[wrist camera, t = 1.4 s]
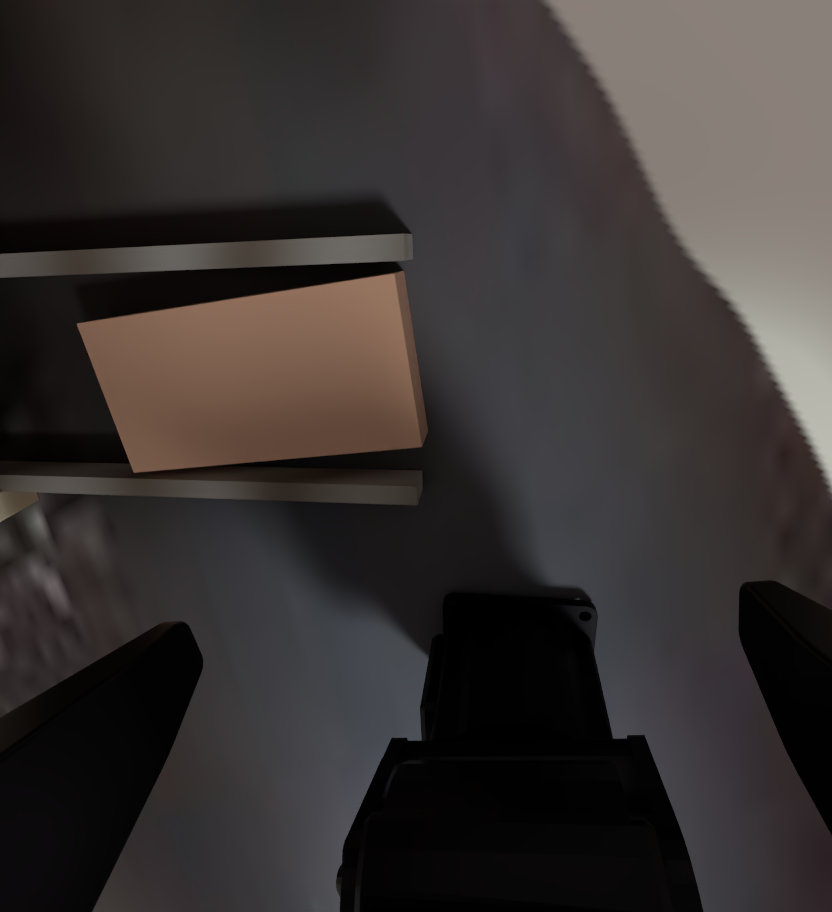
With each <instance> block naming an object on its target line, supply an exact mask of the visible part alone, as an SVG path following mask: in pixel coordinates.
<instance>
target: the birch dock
mask: <svg viewBox="0 0 832 912" xmlns="http://www.w3.org/2000/svg"><path fill="white" fill-rule="evenodd" d="M412 259H413V241H412V234H385V235H365V236H346V237H326V238H306V239H286V240H266V241H246V242H227V243H207V244H187V245H167V246H147V247H128V248H108V249H88V250H68V251H48V252H28V253H9V254H0V278H7V277H30V276H54V275H78V274H102V273H126V272H150V271H173V270H197V269H221V268H245V267H269V266H293V265H317V264H340V263H364V262H388V261H407V260H412ZM422 490H423V478H422V471H420V470H377V469H334V468H291V467H248V466H204V467H193V468H182V469H171V470H159V471H148V472H137V473H134V472H133V469H132V467H131V464H119V463H76V462H33V461H0V522H1V521H3V520H5V519H6V518H8V517H10V516H12V515H13V514H15V513H17V512H19V511H21V510H22V509H24V508H26V507H28V506H30V505H31V504H33V503H35V502H37V501H39V497H38V495H37V492H38V493H68V494H97V495H126V496H155V497H185V498H214V499H243V500H272V501H302V502H331V503H360V504H390V505H418V502H419V499H420V496H421V493H422Z"/></svg>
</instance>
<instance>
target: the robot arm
mask: <svg viewBox="0 0 832 912" xmlns="http://www.w3.org/2000/svg"><path fill="white" fill-rule="evenodd" d="M451 603H456V604H458V605H459V606H457V607H454V606H452V605H450V604H451ZM585 611H586V612H589V613H588V614H587V615H581V614H580V613H581V612H585ZM597 619H598V616H597V611H596V607H595V606H594V604H593V603H591V602H589V601H584V600H567V599H551V598H534V597H518V596H501V595H485V594H468V593H450V594H448V595H446V597H445V598H444V602H443V634H444V635H440V634H437V635H436V636H435V637H434V638H433V639H432V644H431V649H430V655H429V660H428V666H427V672H426V677H425V683H424V689H423V694H422V700H421V706H420V716H421V734H422V741H408V740H407V738H392V739H391V741H390V743H389V745H388V747H387V750H386V752H385V754H384V756H383V758H382V759H381V762H380V764H379V766H378V768H377V771H376V773H375V775H374V777H373V780H372V782H371V784H370V786H369V788H368V791H367V793H366V795H365V797H364V800H363V802H362V804H361V806H360V809H359V811H358V813H357V815H356V818H355V820H354V822H353V824H352V826H351V829H350V831H349V833H348V835H347V838H346V840H345V843H344V846H343V855H342V865H341V866H340V868H339V870H338V873H337V880H336V888H337V892H338V894H339V895H340V912H703V908H702V904H701V900H700V895H699V891H698V887H697V883H696V879H695V875H694V872H693V868H692V864H691V861H690V857H689V854H688V851H687V847H686V844H685V841H684V838H683V835H682V832H681V829H680V826H679V824H678V821H677V819H676V816H675V813H674V811H673V808H672V806H671V803H670V800H669V798H668V795H667V793H666V790H665V787H664V785H663V782H662V780H661V777H660V775H659V772H658V769H657V767H656V764H655V762H654V759H653V756H652V754H651V751H650V749H649V746H648V743H647V741H646V738H645V736H644V735H627V739H613V736H612V732H611V727H610V723H609V718H608V714H607V709H606V705H605V700H604V696H603V691H602V687H601V682H600V678H599V673H598V669H597V664H596V660H595V655H594V646H595V637H596V628H597ZM739 636H740V641H741V644H742V647H743V649H744V652H745V654H746V656H747V659H748V661H749V664H750V666H751V668H752V671H753V673H754V676H755V678H756V680H757V683H758V685H759V688H760V690H761V692H762V695H763V697H764V700H765V702H766V704H767V707H768V709H769V712H770V714H771V716H772V719H773V721H774V724H775V726H776V728H777V731H778V733H779V736H780V738H781V740H782V742H783V745H784V747H785V749H786V751H787V753H788V755H789V757H790V759H791V761H792V763H793V765H794V767H795V769H796V771H797V773H798V775H799V776H800V778H801V780H802V782H803V784H804V786H805V787H806V789H807V791H808V793H809V795H810V796H811V798H812V800H813V802H814V804H815V806H816V807H817V809H818V811H819V813H820V815H821V817H822V818H823V820H824V822H825V824H826V826H827V828H828V829H829V831H830V833H831V835H832V610H831V609H829V608H827V607H825V606H824V605H822V604H820V603H818V602H816V601H814V600H812V599H810V598H808V597H806V596H804V595H802V594H800V593H798V592H796V591H794V590H793V589H791V588H789V587H787V586H785V585H783V584H781V583H779V582H776V581H772V580H768V581H754V582H745V583H743V584H742V585H741V587H740V591H739ZM202 668H203V657H202V654H201V652H200V649H199V647H198V645H197V643H196V640H195V638H194V636H193V634H192V631H191V629H190V627H189V625H187V624H186V623H185V622H182V621H176V622H164V623H161V624H159V625H157V626H155V627H154V628H152V629H150V630H148V631H147V632H145V633H143V634H142V635H140V636H138V637H137V638H135V639H133V640H131V641H130V642H128V643H126V644H125V645H123V646H121V647H120V648H118V649H116V650H114V651H113V652H111V653H109V654H108V655H106V656H104V657H102V658H101V659H99V660H97V661H96V662H94V663H92V664H91V665H89V666H87V667H85V668H84V669H82V670H80V671H79V672H77V673H75V674H74V675H72V676H70V677H68V678H67V679H65V680H63V681H62V682H60V683H58V684H57V685H55V686H53V687H51V688H50V689H48V690H46V691H45V692H43V693H41V694H39V695H38V696H36V697H34V698H33V699H31V700H29V701H28V702H26V703H24V704H22V705H21V706H19V707H17V708H16V709H14V710H12V711H11V712H9V713H7V714H5V715H4V716H2V717H0V912H92V911H93V909H94V907H95V905H96V903H97V901H98V899H99V897H100V895H101V893H102V891H103V889H104V887H105V885H106V883H107V880H108V878H109V876H110V874H111V872H112V870H113V868H114V866H115V864H116V862H117V860H118V858H119V856H120V854H121V852H122V850H123V848H124V846H125V844H126V842H127V840H128V838H129V836H130V834H131V832H132V830H133V828H134V826H135V824H136V822H137V819H138V817H139V815H140V813H141V811H142V809H143V807H144V805H145V803H146V801H147V799H148V797H149V795H150V793H151V791H152V789H153V787H154V785H155V783H156V781H157V779H158V777H159V775H160V773H161V771H162V769H163V766H164V764H165V762H166V760H167V758H168V756H169V753H170V751H171V748H172V746H173V744H174V741H175V739H176V736H177V734H178V731H179V728H180V726H181V723H182V721H183V718H184V716H185V713H186V711H187V708H188V705H189V703H190V700H191V698H192V695H193V693H194V690H195V688H196V685H197V682H198V680H199V677H200V675H201V672H202Z"/></svg>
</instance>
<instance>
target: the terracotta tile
mask: <svg viewBox="0 0 832 912" xmlns="http://www.w3.org/2000/svg"><path fill="white" fill-rule="evenodd" d="M77 326H78V329H79V331H80V334H81V336H82V339H83V342H84V344H85V347H86V349H87V352H88V355H89V357H90V360H91V362H92V365H93V368H94V370H95V373H96V376H97V378H98V381H99V383H100V386H101V389H102V391H103V394H104V396H105V399H106V402H107V404H108V407H109V409H110V412H111V415H112V417H113V420H114V423H115V425H116V428H117V430H118V433H119V436H120V438H121V441H122V443H123V446H124V449H125V451H126V454H127V456H128V459H129V462H130V464H131V467H132V469H133V472H134V473H137V472H148V471H159V470H171V469H182V468H193V467H204V466H216V465H227V464H238V463H249V462H261V461H272V460H283V459H294V458H306V457H317V456H328V455H339V454H351V453H362V452H373V451H384V450H396V449H407V448H418V447H422V446H423V443H424V441H425V438H426V435H427V433H428V427H427V420H426V414H425V407H424V401H423V394H422V388H421V381H420V374H419V368H418V361H417V355H416V348H415V341H414V335H413V328H412V322H411V315H410V309H409V302H408V295H407V289H406V282H405V276H404V271H398V272H391V273H385V274H379V275H372V276H366V277H360V278H354V279H347V280H341V281H335V282H328V283H322V284H316V285H309V286H303V287H297V288H291V289H284V290H278V291H272V292H265V293H259V294H253V295H246V296H240V297H234V298H228V299H221V300H215V301H209V302H202V303H196V304H190V305H183V306H177V307H171V308H164V309H158V310H152V311H146V312H139V313H133V314H127V315H120V316H114V317H108V318H103V319H98V320H93V321H88V322H83V323H78V324H77Z"/></svg>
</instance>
